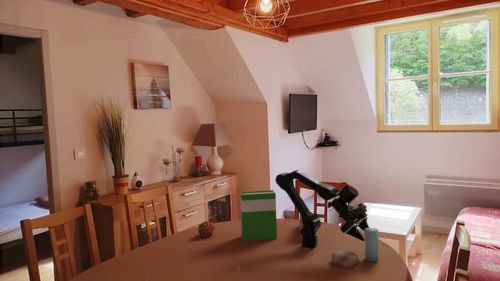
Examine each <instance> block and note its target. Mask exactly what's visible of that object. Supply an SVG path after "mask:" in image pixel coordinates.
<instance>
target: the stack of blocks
mask: <svg viewBox="0 0 500 281" xmlns="http://www.w3.org/2000/svg"><path fill="white" fill-rule="evenodd" d="M308 209H309V211H310V212H312V213H313V209H312V208H308ZM303 227H304V226H303V223H302V217H301V215H300V214H299V230H300V229H302V228H303ZM299 238H300V239H302V235H301V234H300V233H299Z"/></svg>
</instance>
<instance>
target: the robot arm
mask: <svg viewBox="0 0 500 281" xmlns="http://www.w3.org/2000/svg"><path fill="white" fill-rule="evenodd" d="M294 180H297V181H298V182H300V183H302V184H304V185H305V186H307V187H308V188H310V189H312V190H314V192H316V193H317V195H318V196H319V197H320V198H321V199H322V200H324V201H328V202H327V208H328V209H330V208H333V209H334V210H335V212H336V213H337V214H338V215H339V216H338V217H339V218H340V219H341V218H342V219H343V221H344V222H345V223H344V224H342V225H341V226H340V231H341V233H342V234H345V235H348V236H351V237H353V238H356V239H357V240H359V241H361V242H365V237H364V236H363V235H362V233H361V232H360V230H362V231H363V232H365V229H366V228H370V226H369V224H368V214H367V212H368V210H367V205H365V204H364V203H363V202H361V203H359V204H358V205H357V207H353V206H349V204H351V203H352V202H353V201H354V200H355V199H356V198H357V197H358V196H359V195H360V193H359V191H358V190H357V188H355V187H353V186H352V185H350V184H349V183H347V184H345V185H344V186H343V188H342V189H338V188H336V187H335V186H333V185H331V184H328V183H323V182H320V181H319V180H317V179H315V178H313V177H311V176H310V175H308V174H307V173H305V172H303V171H302V170H301V169H296V170H293V171H291V172H282V173H279V174H277V175H276V176H275V180H274V181H275V183H276V185H277V186H278V187H279V188H280V189H281V190H283V191H284V192H286V194H287V195H288V197H289V199H290V200H291V202H292V204H293V206H294V207H295V209H296V210H297V211H298V213H299V216H300V215H301V217H302V223H303V226H304V227H303V228H302V229H300V228H299V235H300V234H301V235H302V238H301V239H302V240H301V241H302V243H301V245H300V246H301V248H309V249H315V248H316V247H317V246H318V240H319V239H318V236H317V232H318V231H319V229H320V228H321V226H322V222H321V218H320V217H319V216H318V214H317V212H313V211H312V212H310V211H309V209H310V208H309V207H308V206H307V205H306V203H305V201H304V200H303V198H302V196H301V195H300V194H299V192H298V190H297V188H296V187H295V182H294ZM358 228H359V229H360V230H359V229H358Z"/></svg>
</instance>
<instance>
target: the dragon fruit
mask: <svg viewBox="0 0 500 281" xmlns="http://www.w3.org/2000/svg"><path fill="white" fill-rule="evenodd" d="M197 230H198V231H197V234H199V235H200V236H203V237H205V238H207V237H208V236H212V237H213V233H214V232H215V230H216V228H215V226H214V223H212V222H211V221H209V220H206V221H204V222H202V223H201V224H199V225H198V229H197Z"/></svg>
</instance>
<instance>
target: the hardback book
mask: <svg viewBox="0 0 500 281" xmlns="http://www.w3.org/2000/svg"><path fill="white" fill-rule="evenodd" d="M239 193H240V194H239V198H240V222H241V224H240V225H241V239H242V241H243V242H248V241H249V242H251V241H263V240H277V238H278V230H277V225H278V224H277V195H276V194H277V192H274V190H273V189H272V190H270V189H269V190H268V189H267V190H266V189H265V190H252V191H240V192H239Z"/></svg>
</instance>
